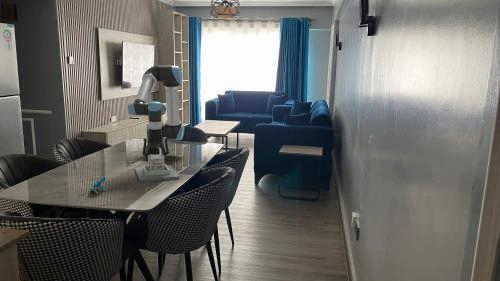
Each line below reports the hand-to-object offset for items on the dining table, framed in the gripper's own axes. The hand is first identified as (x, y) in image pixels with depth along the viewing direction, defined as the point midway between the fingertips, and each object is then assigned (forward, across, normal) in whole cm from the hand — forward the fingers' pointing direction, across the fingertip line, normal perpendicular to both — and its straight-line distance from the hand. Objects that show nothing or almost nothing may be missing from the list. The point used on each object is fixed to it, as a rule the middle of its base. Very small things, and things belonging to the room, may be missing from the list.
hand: (156, 165), depth 227 cm
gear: (+5, -33, -22) cm, 40 cm away
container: (+2, 0, 0) cm, 2 cm away
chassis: (+5, 0, 0) cm, 5 cm away
